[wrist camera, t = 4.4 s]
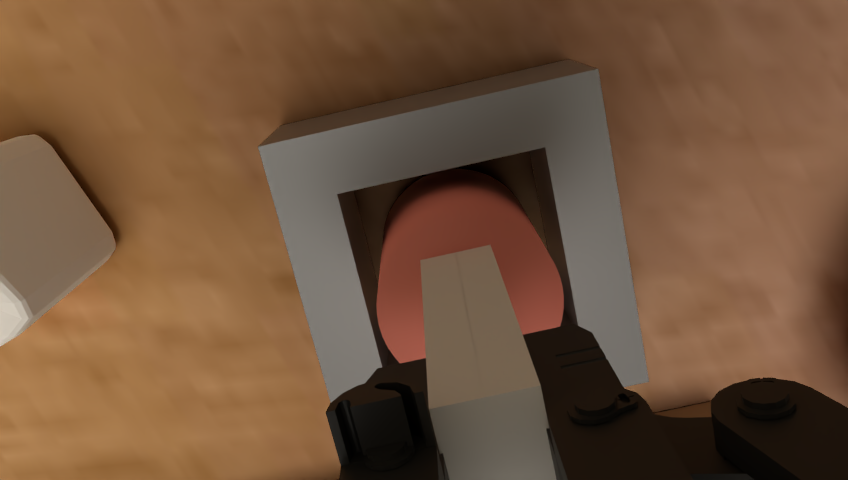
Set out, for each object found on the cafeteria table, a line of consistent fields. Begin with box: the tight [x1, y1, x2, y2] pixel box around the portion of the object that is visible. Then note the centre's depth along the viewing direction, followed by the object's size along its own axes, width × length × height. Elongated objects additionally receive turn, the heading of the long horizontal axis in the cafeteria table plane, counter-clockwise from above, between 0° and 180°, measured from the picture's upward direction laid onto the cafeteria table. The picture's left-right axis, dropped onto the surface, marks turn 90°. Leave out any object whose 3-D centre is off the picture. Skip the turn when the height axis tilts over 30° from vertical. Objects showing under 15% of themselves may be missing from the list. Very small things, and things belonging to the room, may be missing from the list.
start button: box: [376, 169, 564, 363], centre depth 20 cm, size 4×4×5 cm
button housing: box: [258, 59, 649, 402], centre depth 21 cm, size 8×8×4 cm
